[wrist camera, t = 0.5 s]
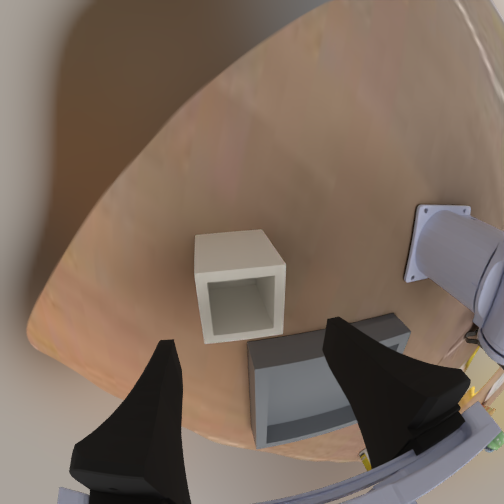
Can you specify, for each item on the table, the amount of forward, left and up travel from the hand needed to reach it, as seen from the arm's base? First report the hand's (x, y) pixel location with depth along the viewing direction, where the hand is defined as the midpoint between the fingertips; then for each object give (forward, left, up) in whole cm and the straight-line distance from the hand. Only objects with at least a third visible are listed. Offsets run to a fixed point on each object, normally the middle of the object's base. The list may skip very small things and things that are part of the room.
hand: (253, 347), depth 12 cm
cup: (0, 0, -9) cm, 9 cm away
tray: (-9, +16, -9) cm, 21 cm away
